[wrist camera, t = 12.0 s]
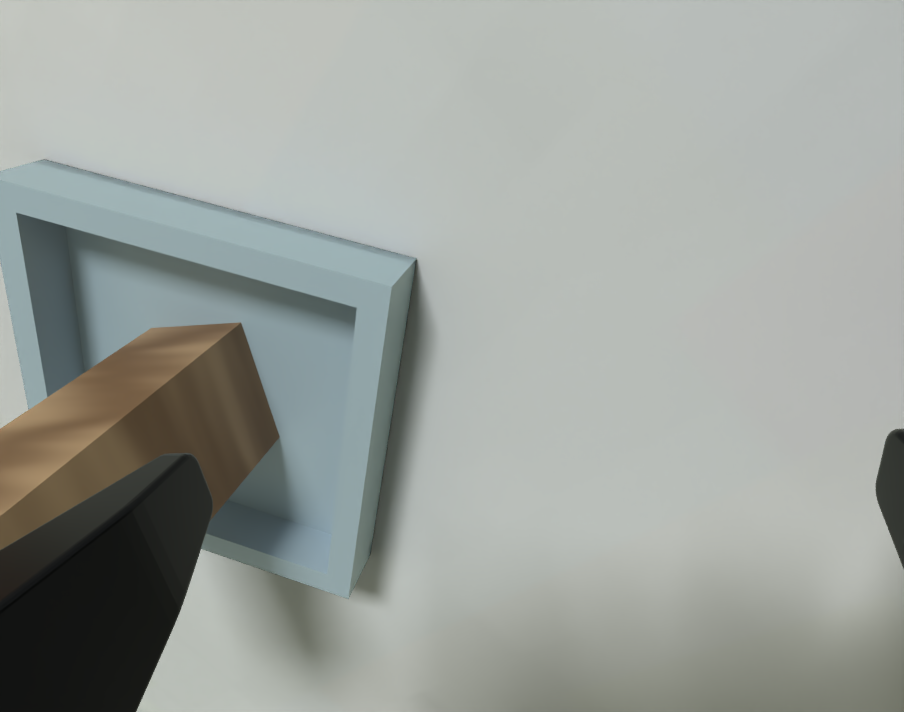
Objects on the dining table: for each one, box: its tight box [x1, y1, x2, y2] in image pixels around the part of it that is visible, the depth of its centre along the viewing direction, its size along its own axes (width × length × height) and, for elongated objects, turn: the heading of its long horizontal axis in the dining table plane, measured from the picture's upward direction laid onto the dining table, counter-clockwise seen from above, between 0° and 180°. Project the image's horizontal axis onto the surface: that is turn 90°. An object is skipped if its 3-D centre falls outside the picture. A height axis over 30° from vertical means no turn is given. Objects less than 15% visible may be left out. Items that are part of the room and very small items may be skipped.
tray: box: [0, 160, 416, 599], centre depth 25 cm, size 14×14×2 cm
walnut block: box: [0, 322, 280, 550], centre depth 20 cm, size 4×5×13 cm
